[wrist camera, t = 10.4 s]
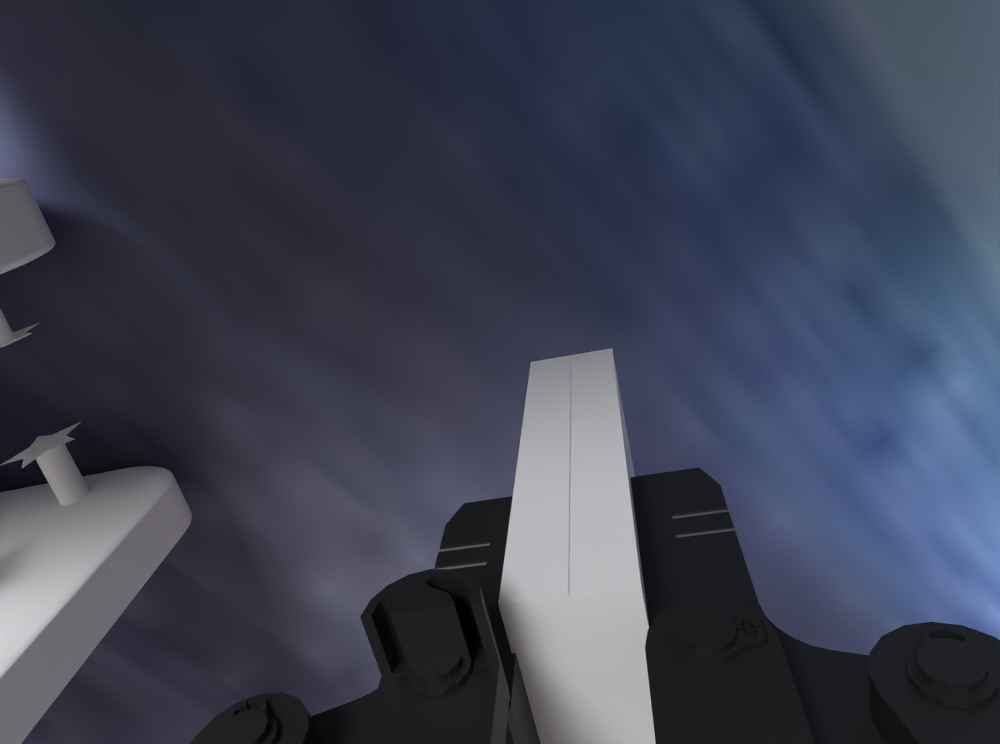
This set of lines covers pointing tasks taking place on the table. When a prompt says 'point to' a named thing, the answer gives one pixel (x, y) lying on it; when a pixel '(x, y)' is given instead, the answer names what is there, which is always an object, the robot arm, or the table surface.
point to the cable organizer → (67, 533)
